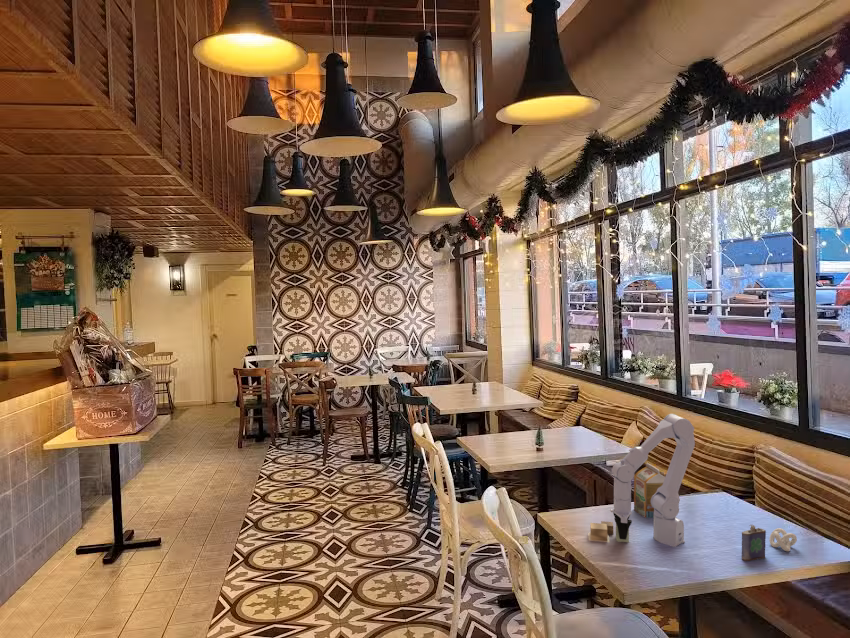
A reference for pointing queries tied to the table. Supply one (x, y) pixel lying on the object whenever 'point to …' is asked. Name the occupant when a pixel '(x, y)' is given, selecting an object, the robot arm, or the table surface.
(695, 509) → the table surface
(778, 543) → the knot
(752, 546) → the flask
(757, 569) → the table surface
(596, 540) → the build mat
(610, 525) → the walnut block
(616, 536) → the sage block
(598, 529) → the oak block
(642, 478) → the milk carton
